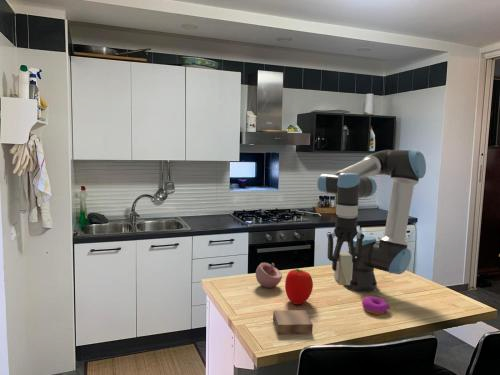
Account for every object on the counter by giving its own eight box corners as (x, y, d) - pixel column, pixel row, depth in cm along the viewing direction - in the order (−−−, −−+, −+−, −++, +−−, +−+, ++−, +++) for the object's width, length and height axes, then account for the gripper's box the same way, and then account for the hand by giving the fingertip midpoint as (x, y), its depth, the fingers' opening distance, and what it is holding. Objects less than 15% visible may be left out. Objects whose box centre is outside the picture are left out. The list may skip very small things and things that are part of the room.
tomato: (284, 295, 165) (286, 263, 163) (311, 297, 164) (312, 265, 162) (284, 307, 153) (285, 273, 151) (312, 309, 151) (314, 275, 150)
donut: (378, 318, 146) (379, 307, 145) (355, 309, 153) (356, 298, 153) (392, 311, 152) (393, 300, 152) (370, 302, 160) (371, 292, 159)
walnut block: (304, 320, 143) (305, 310, 142) (312, 335, 132) (312, 324, 131) (273, 320, 142) (273, 310, 141) (277, 335, 131) (278, 324, 130)
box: (334, 280, 142) (336, 251, 141) (346, 280, 143) (347, 251, 141) (339, 285, 137) (340, 255, 136) (350, 285, 137) (352, 255, 136)
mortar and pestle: (277, 293, 167) (278, 268, 165) (251, 289, 170) (252, 264, 169) (284, 284, 178) (285, 260, 176) (259, 280, 182) (260, 257, 180)
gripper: (365, 214, 141) (361, 275, 144) (320, 213, 140) (316, 275, 142) (374, 218, 134) (369, 282, 137) (326, 218, 132) (322, 282, 135)
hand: (342, 278), depth 140 cm, fingers closed on box, 4 cm apart
